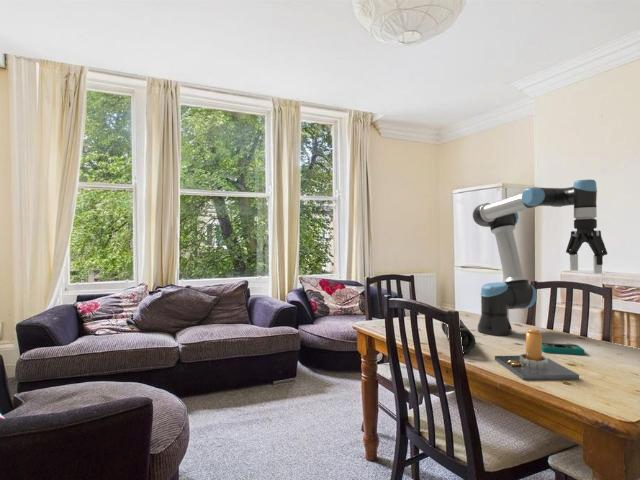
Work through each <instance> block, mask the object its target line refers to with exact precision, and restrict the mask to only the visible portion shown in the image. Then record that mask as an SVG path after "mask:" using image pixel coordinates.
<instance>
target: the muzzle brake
mask: <svg viewBox="0 0 640 480" xmlns="http://www.w3.org/2000/svg"><path fill="white" fill-rule="evenodd" d="M441 330H442V332H443V333H444V335H445V336H446V337H447V338H448V327H447V325H446V324H444V323H442V322H441ZM460 332H461V337H462V346H463V352H464V354H463V355H465V354H466V353H469V352H471V351H472V350H473V349H474V348H475V347H476V346H475V345H476V338H475V335H474V334H473V332H471V331H470V329H469V328H468V327H467V326H466V324H464V322H463V320H462V319H460Z"/></svg>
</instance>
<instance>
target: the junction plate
mask: <svg viewBox="0 0 640 480" xmlns="http://www.w3.org/2000/svg"><path fill="white" fill-rule="evenodd" d="M494 361H495V362H497V363H498V364H499V365H501V366H503V368H506V369H507V370H509V372H511V373H512V374H514V375H516V376H517V377H518V378H520V379H521V380H523V381H526V380H527V381H528V380H531V381H532V380H533V381H534V380H535V381H537V380H538V381H539V380H541V381H542V380H545V381H546V380H547V381H549V380H551V381H552V380H553V381H554V380H556V381H557V380H559V381H561V380H580V374H578V373H577V372H575V371H573V370H571V369H569V368H567V367H565V366H563V365H562V364H560V363H557V362H556V361H554V360H552V359H550V358H548V357H547V356H545V355H542V361H536V360H529V359H526V353H522V354H519V355H494Z"/></svg>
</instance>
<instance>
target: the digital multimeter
mask: <svg viewBox="0 0 640 480" xmlns="http://www.w3.org/2000/svg"><path fill="white" fill-rule="evenodd" d="M542 353H546V354H562V355H563V354H564V355H574V356H575V355H576V356H585V353H586V352H585V349H584V348H583V347H581V346H580V345H578V344H572V343H554V342H552V343H550V342H542Z"/></svg>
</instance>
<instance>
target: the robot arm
mask: <svg viewBox="0 0 640 480" xmlns="http://www.w3.org/2000/svg"><path fill="white" fill-rule="evenodd" d="M597 195H598V187H597V181H596V180H595V179H580V180H579V179H578V180H575V181H574V182H573V186H571V187H564V188H563V187H562V188H561V187H559V188H558V187H537V186H532V187H527V188H525V190H523V192H521V193H518V194H515V195H512V196H510V197H506V198H504V199H500V200H498V201H495V202H492V203H489V202H485V203H482V204H478V205H477V206H476V207H475V208H474V209H473V212H472V218H473V221H474V223H476V224H477V225H478V226H480V227H484V228H490V232H491V233H492V234H494V236H495V241H496V245H497V251H498V256H499V258H500V264H501V268H502V273H503V277H504V278H503V279H504V280H503V281H502V282H501V281H500V282H499V281H498V282H489V283H484V284H483V285H482V286H481V290H480V291H481V292H480V298H481V300H480V301H481V302H480V303H481V305H480V306H481V307H480V308H481V309H480V311H481V312H480V313H481V315H480V317H479V321H478V323H477V332H479V333H481V334H485V335H491V336H492V335H493V336H510V335H511V334H512V333H513V328H512V325H511V322H510V320H509V316H508V315H509V312H508V311H509V310H521V309H522V310H524V309H528V308H532V307H533V306H534V305H535V303H536V301H537V297H538V294H537V293H538V292H537V290H536V288H535V287H534V286H533V285H532V284H530V283H529V280H528V278H526V277H525V276H524V273H523V269H522V264H521V261H520V256H519V251H518V247H517V242H516V238H515V234H514V230H515V229H516V225H517V223H518V222H519V221H518V220H519V214H518V213H519V212H524V211H526V210H529V209H533V208H536V207H545V206H546V207H553V208H554V207H556V208H558V207H559V208H561V207H567V206H573V219H574V220H573V228H574V229H575V230H571V231H570V237H569V241H568V244H567V246H566V251H565V253H566V254H568V255H569V264H570V265H569V269H570V270H569V271H579V254H578V252H579V250H580V248H581V246H582V245H583V243H586V244H588V246H589V247H590V249H591V251H592V252H593V254H594V255H593V274H595V275H597V274H603V264H604V263H603V257H604V256H607V255H608V251H607V248H606V246H605V243H604V240H603V238H602V231H601V230H595V229H596V228H598V222H597V221H598V220H597V219H596V218H597V207H598V206H597V197H598V196H597Z"/></svg>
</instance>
